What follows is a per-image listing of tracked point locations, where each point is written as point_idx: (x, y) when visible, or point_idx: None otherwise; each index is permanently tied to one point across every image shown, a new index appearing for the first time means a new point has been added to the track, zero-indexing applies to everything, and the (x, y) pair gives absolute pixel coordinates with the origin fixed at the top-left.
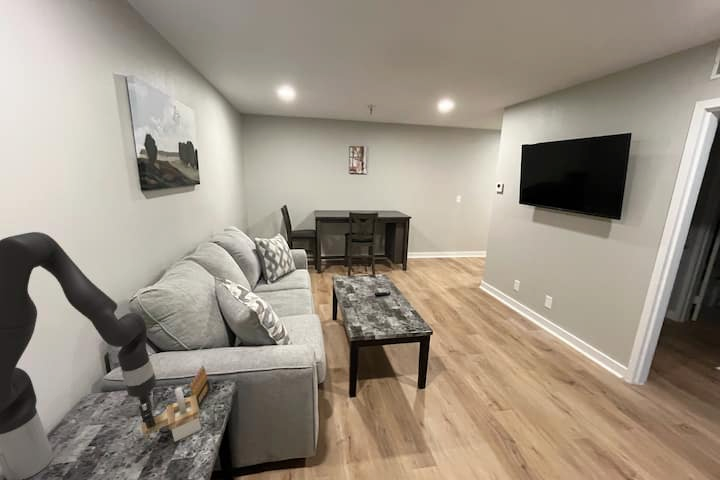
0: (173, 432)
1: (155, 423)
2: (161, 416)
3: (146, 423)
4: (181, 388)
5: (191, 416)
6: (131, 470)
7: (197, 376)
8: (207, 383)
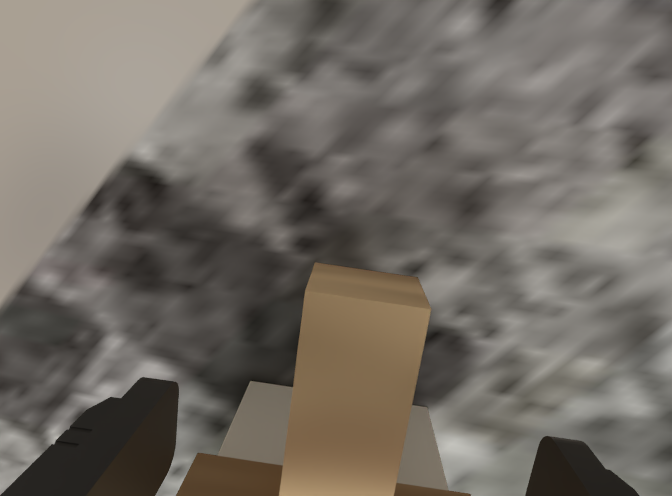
0: (227, 441)
1: (161, 473)
2: (357, 493)
3: (92, 441)
4: None
5: None
6: (197, 105)
7: None
8: None
